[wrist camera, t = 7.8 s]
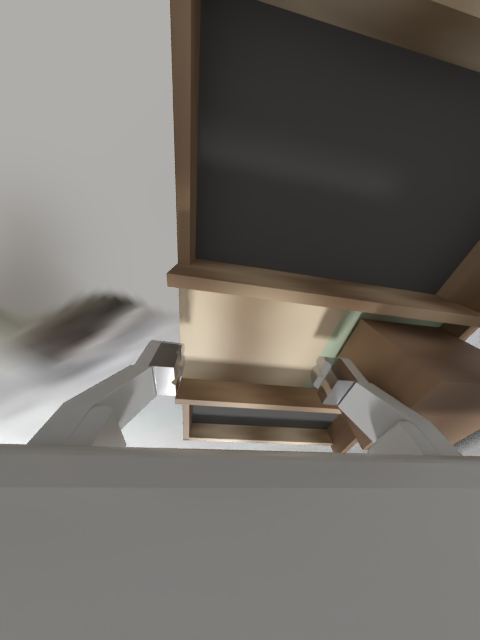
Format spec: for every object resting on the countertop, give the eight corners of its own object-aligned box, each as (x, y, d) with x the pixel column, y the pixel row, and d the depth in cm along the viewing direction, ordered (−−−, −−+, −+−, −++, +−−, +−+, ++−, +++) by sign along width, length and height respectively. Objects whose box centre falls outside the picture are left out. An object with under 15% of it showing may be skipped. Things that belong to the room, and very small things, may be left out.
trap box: (559, 107, 7) (857, 10, 4) (324, 420, 20) (343, 464, 16) (191, -9, 6) (124, -371, 2) (189, 413, 18) (179, 459, 14)
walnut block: (438, 327, 10) (550, 387, 6) (386, 384, 12) (446, 448, 9) (361, 318, 9) (440, 381, 6) (322, 380, 12) (362, 449, 8)
